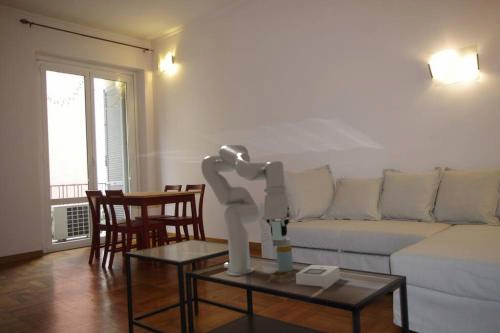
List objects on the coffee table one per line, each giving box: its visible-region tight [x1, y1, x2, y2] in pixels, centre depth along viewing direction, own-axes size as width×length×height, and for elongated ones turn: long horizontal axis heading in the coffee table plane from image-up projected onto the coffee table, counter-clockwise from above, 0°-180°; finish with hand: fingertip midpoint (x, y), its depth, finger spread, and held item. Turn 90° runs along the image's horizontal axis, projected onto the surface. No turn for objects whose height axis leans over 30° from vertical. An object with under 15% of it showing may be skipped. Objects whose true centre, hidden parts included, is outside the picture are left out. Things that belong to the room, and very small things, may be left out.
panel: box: [295, 264, 341, 290], centre depth 156 cm, size 12×16×5 cm
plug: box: [271, 219, 287, 247], centre depth 161 cm, size 4×4×10 cm
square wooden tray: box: [266, 270, 296, 284], centre depth 161 cm, size 10×8×4 cm
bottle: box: [275, 237, 294, 272], centre depth 178 cm, size 7×7×15 cm
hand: (279, 235), depth 161 cm, fingers closed on plug, 4 cm apart
